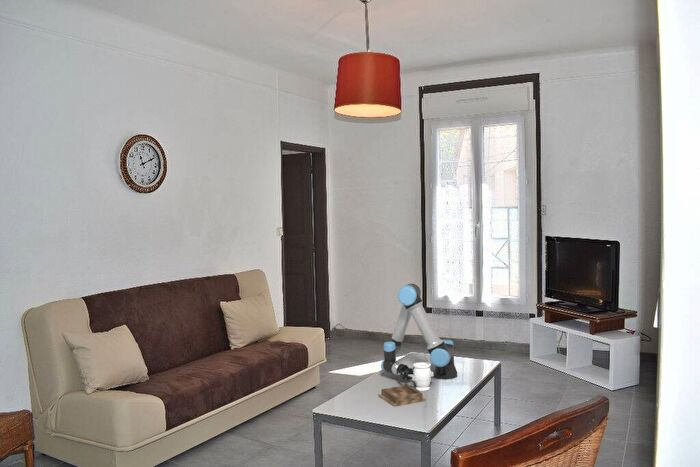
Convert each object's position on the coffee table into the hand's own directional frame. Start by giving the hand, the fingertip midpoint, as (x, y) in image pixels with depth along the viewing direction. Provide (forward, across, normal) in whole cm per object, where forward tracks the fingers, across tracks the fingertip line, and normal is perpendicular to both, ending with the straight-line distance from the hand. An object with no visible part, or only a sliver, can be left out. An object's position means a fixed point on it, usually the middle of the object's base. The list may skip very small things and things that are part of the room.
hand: (424, 376), depth 325 cm
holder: (+2, +20, -8) cm, 22 cm away
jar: (-2, 0, -8) cm, 9 cm away
